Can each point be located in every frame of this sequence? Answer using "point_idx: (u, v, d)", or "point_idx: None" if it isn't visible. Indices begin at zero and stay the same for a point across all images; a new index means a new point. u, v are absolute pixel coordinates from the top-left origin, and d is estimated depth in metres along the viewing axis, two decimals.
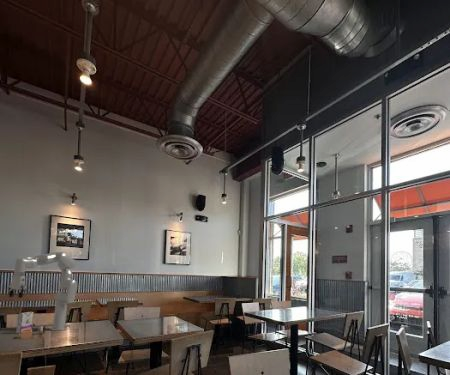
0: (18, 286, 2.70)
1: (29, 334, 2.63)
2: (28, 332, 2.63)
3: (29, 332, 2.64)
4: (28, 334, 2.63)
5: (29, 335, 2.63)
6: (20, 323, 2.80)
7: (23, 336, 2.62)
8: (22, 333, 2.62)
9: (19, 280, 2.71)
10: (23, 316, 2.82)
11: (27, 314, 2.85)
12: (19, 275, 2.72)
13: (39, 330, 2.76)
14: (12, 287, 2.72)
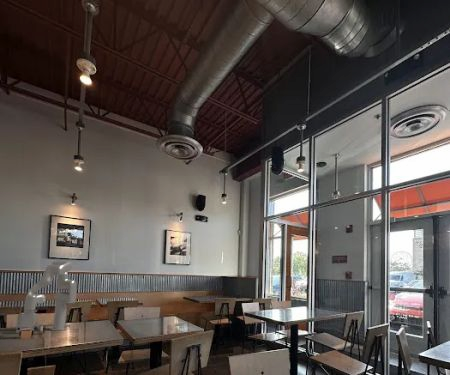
0: (33, 324, 2.67)
1: (29, 334, 2.63)
2: (28, 332, 2.63)
3: (29, 332, 2.64)
4: (28, 334, 2.63)
5: (29, 335, 2.63)
6: None
7: (23, 336, 2.62)
8: (22, 333, 2.62)
9: (34, 317, 2.68)
10: None
11: None
12: (33, 312, 2.68)
13: (39, 330, 2.76)
14: (23, 326, 2.64)
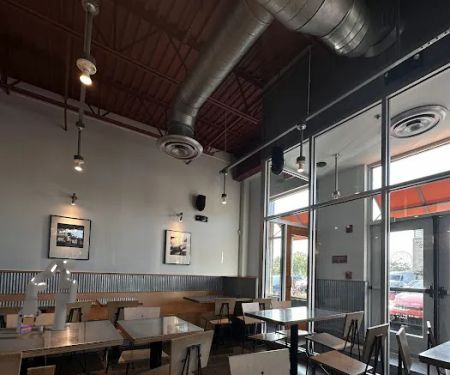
0: (35, 311, 2.69)
1: (31, 321, 2.66)
2: (30, 319, 2.66)
3: (31, 319, 2.66)
4: (30, 321, 2.66)
5: (31, 322, 2.66)
6: (20, 323, 2.80)
7: (25, 323, 2.64)
8: (24, 320, 2.64)
9: (35, 305, 2.70)
10: None
11: None
12: (35, 300, 2.70)
13: (39, 330, 2.76)
14: (25, 313, 2.66)
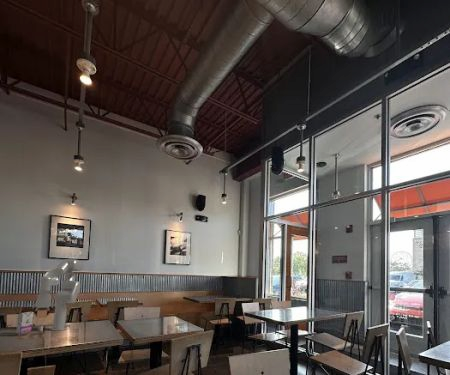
0: (48, 304, 2.81)
1: (45, 313, 2.77)
2: (44, 312, 2.77)
3: (45, 312, 2.78)
4: (44, 313, 2.77)
5: (45, 314, 2.77)
6: (20, 323, 2.80)
7: (39, 315, 2.76)
8: (38, 312, 2.76)
9: (49, 298, 2.82)
10: (23, 316, 2.82)
11: (27, 314, 2.85)
12: (48, 293, 2.82)
13: (39, 330, 2.76)
14: (39, 306, 2.78)
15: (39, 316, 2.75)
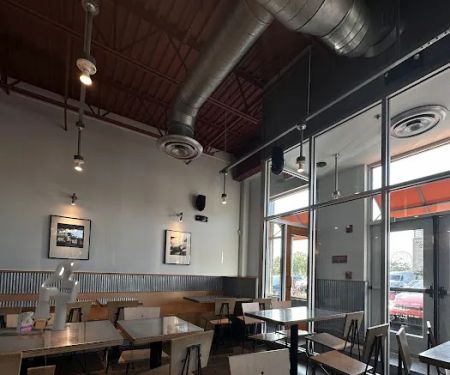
0: (47, 315, 2.79)
1: (43, 324, 2.76)
2: (42, 322, 2.76)
3: (43, 322, 2.76)
4: (42, 324, 2.76)
5: (43, 325, 2.76)
6: (20, 323, 2.80)
7: (38, 326, 2.74)
8: (37, 323, 2.74)
9: (48, 309, 2.80)
10: (23, 316, 2.82)
11: (27, 314, 2.85)
12: (47, 304, 2.81)
13: (39, 330, 2.76)
14: (38, 316, 2.76)
15: (38, 327, 2.74)
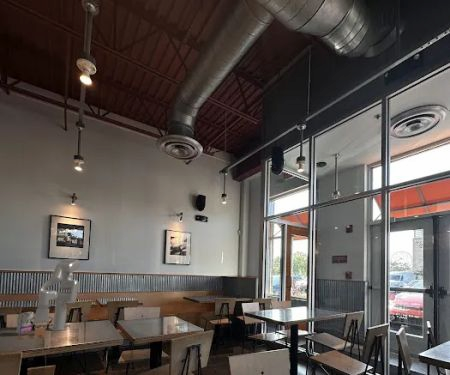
0: (46, 319, 2.79)
1: (43, 331, 2.75)
2: (42, 329, 2.75)
3: (43, 329, 2.75)
4: (42, 331, 2.75)
5: (43, 332, 2.75)
6: (20, 323, 2.80)
7: (37, 333, 2.73)
8: (36, 330, 2.73)
9: (47, 313, 2.80)
10: (23, 316, 2.82)
11: (27, 314, 2.85)
12: (47, 308, 2.80)
13: None
14: (37, 320, 2.76)
15: (37, 334, 2.73)
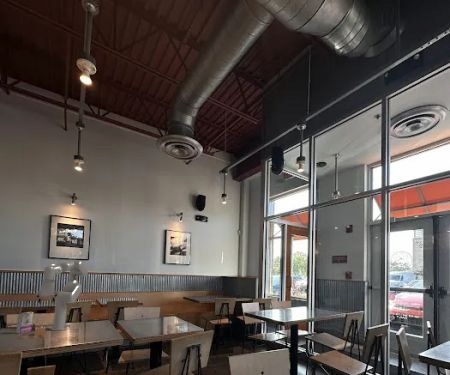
0: (52, 292, 2.90)
1: (43, 331, 2.75)
2: (42, 329, 2.75)
3: (43, 329, 2.75)
4: (42, 331, 2.75)
5: (43, 332, 2.75)
6: (20, 323, 2.80)
7: (37, 333, 2.73)
8: (36, 330, 2.73)
9: (52, 287, 2.91)
10: (23, 316, 2.82)
11: (27, 314, 2.85)
12: (52, 282, 2.91)
13: None
14: (43, 294, 2.87)
15: (37, 334, 2.73)
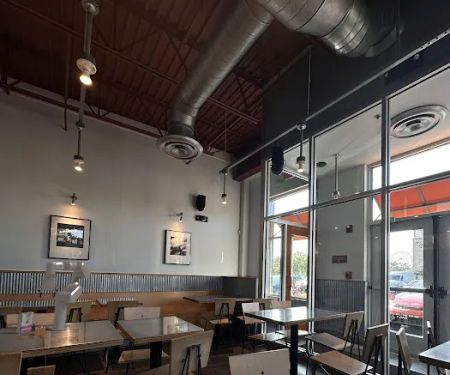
0: (53, 287, 2.93)
1: (43, 331, 2.75)
2: (42, 329, 2.75)
3: (43, 329, 2.75)
4: (42, 331, 2.75)
5: (43, 332, 2.75)
6: (20, 323, 2.80)
7: (37, 333, 2.73)
8: (36, 330, 2.73)
9: (54, 282, 2.94)
10: (23, 316, 2.82)
11: (27, 314, 2.85)
12: (53, 277, 2.95)
13: None
14: (45, 288, 2.91)
15: (37, 334, 2.73)
